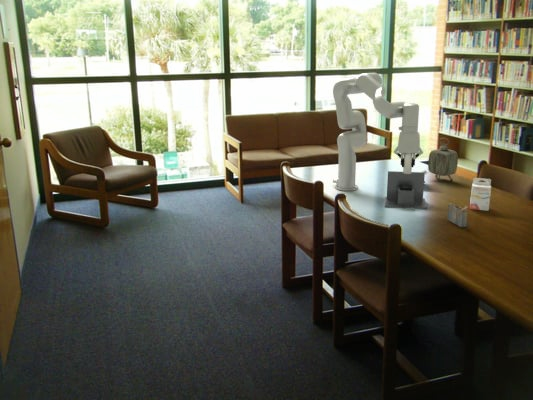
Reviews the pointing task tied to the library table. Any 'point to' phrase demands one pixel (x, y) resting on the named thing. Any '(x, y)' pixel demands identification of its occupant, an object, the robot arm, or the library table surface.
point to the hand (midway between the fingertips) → (407, 166)
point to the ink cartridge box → (480, 194)
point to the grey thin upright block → (457, 215)
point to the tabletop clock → (443, 161)
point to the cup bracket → (405, 190)
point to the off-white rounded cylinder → (407, 163)
